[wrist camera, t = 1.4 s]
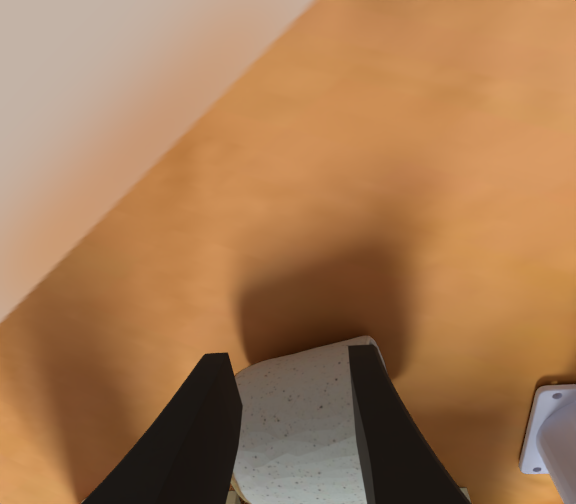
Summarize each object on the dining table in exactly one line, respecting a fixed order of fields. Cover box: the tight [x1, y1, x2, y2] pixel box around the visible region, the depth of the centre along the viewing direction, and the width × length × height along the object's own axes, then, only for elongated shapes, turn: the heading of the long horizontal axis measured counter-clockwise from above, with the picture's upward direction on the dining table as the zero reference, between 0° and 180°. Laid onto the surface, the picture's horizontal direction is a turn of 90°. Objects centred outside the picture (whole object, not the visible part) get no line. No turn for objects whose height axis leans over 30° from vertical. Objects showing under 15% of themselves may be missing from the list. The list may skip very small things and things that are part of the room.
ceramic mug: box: [231, 336, 389, 504], centre depth 22 cm, size 11×8×8 cm
